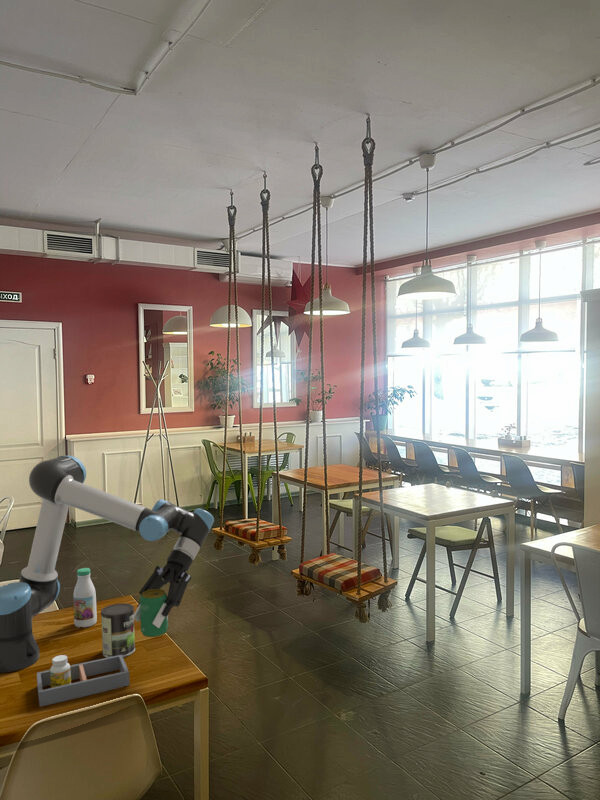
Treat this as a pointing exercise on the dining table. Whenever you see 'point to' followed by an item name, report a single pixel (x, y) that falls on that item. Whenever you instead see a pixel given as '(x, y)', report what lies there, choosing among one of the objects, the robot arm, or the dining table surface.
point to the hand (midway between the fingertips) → (145, 622)
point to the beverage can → (152, 612)
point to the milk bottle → (84, 600)
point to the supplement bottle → (60, 671)
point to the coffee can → (118, 630)
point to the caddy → (84, 680)
